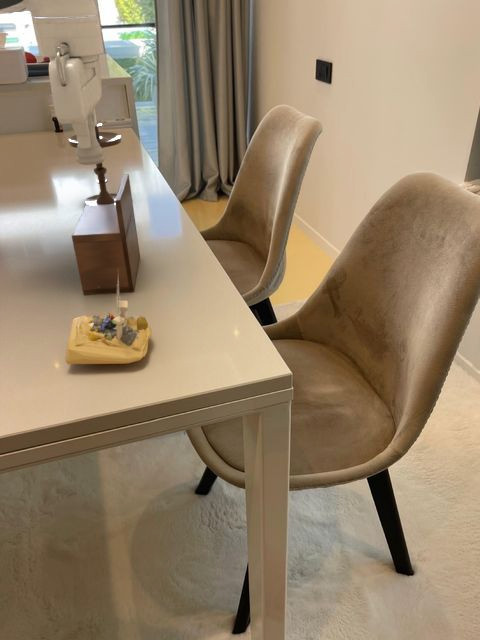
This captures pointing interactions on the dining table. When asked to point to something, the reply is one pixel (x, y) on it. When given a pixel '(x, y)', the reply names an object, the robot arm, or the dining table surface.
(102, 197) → the candlestick
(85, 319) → the cake
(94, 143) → the rook chess piece
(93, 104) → the robot arm
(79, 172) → the dining table surface
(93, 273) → the wooden box with backrest
